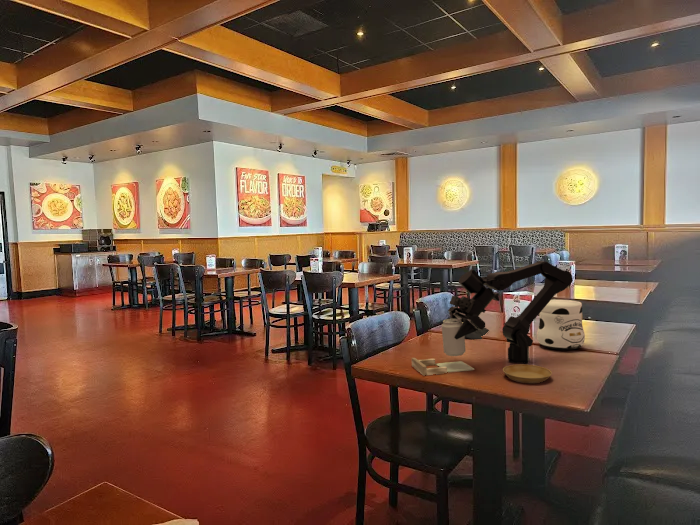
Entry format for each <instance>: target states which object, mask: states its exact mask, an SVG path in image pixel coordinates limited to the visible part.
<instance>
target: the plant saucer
mask: <svg viewBox="0 0 700 525" xmlns="http://www.w3.org/2000/svg"><path fill="white" fill-rule="evenodd" d="M502 371H503V372H504V374H505V375H506V376H507V377H508V378H509V379H510V380H511V381H514V382H516V383H523V384H539V383H540V382H541V383H543V381H544V382H545V381H547V380H548V379H549V378H550V377H551V376H552V374H553V372H552V371H551V370H550V369H549V368H547V367H544V366H539V365H536V364H535V365H534V364H524V363H517V364H511V365H506V366H504V367H503V368H502ZM541 383H540V384H541Z"/></svg>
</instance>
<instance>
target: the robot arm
mask: <svg viewBox="0 0 700 525" xmlns="http://www.w3.org/2000/svg"><path fill="white" fill-rule="evenodd" d="M537 275H542V277H544V278H545V279H544V283H543V287H542V288H541V289H540V290H539V292H537V294H536V295H535V297H533V299H532V300H531V301H530V302H529V303H528V304H527V306H525V308H524V310H522V311H521V313H520V314H519V315H517V316H516V317H515V316H512V315H511V316H509V318H508V319H507V320H506V322H504V323H503V325H504V326H502V329H501V330H502V335H503V336H504V338H505V339H506V342H507V343H509V346H508V347H507V360H508V363H514V364H516V363H517V364H526V365H529V362H530V359H531V358H530V347H532V346H533V342H534V340H533V339H532V338H531V337H530V336H529V335H528V334H529V333H530V328H531V324H532V323H533V322H534V320H536V318H537V317H538V316H539V313H540V312H541V311H542V310H543V309H544V307H545V306H546V305H547V304H548V303H549V302H550V300H553V298H554V297H555V296H556V295H558V294H559V293H560V292H563V291H565V290H566V289H567V288H569V287H570V286H571V285H572V283H573V275H572V273H571V272H570V271H568V270H563V269H561V268H559V267H557V266H555V265H553V264H551V263H549V262H548V261H546V260H544V261H543V260H538V261H536V262H533V263H530V264H527V265H525V266H521V267H518V268H515V269H511V270H508V271H497V272H495V271H494V272H490V273H488V274H487V275H486V276H483V277H481V276H480V275H479V274H478V273H477V270H475V269H473V268H471V269H470V270H469V271H466V272H465V273H464V274H462V275H461V276H460V277H459V279H458V284H460V285H461V286H462V287H463V289H465V291H467V292H468V293H469V294H471V295H472V294H473V296H471V298H469V297H466V296H464V295H462V296H461V297H459V296H456V295H451V299H450V301H449V305H451V307H449V309H447V311H448V312H449V316H450V318H449V319H460V320H461V322H462V323H463V324H462V326H461V327H460V329H459V330H458V332H457V333H456V335H455V337H454V338H455V339H459V338H461V337H463V336H465V335H468V334H470V333H472V332H475V331H478V329H479V330H481V331H482V330H483V329H484V328H486V321H484V320H483V319H482V318H481V317H480V315H481V314H482V313H483V314H485V313H486V311H487V310H486V308H487V307H488V305H489V304H490V303H491V302H492V301H496V302H500V295H499V294H500V293H498V292H494V290H496V291H503V290H504V291H505V290H506V289H508V288H509V287H510V288H511V286H512V285H514V283H516V282H519V281H522V280H525V279H529V278H532V277H534V276H537ZM486 286H487V287H486ZM477 328H478V329H477Z"/></svg>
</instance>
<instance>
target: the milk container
mask: <svg viewBox="0 0 700 525" xmlns="http://www.w3.org/2000/svg"><path fill="white" fill-rule="evenodd" d="M538 316H539V323H538V328H537V331H536V332H537V333H536V337H537V342H538V343H539V345H540V346H542V347H544V348H547V349H552V350H559V351H560V350H561V351H572V350H577V349H580V348H582V347H583V346H584V344H585V340H586V334H585V330H584V327H583V303H582V302H581V301H578V300H570V299H551V300H550V302H549V303H548V304H547V305H546V306H545V307H544V309H543V310H542V311H541V312H540V313H539V315H538Z"/></svg>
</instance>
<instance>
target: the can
mask: <svg viewBox="0 0 700 525" xmlns="http://www.w3.org/2000/svg"><path fill="white" fill-rule="evenodd" d="M442 322H443V323H442V324H441V333H442V335H441V336H442V345H443V346H442V348H443V353H444V354H445V355H446V356H448V357H460V356H462V355H464V354H465V353H466V338H465V336H463V337H461V338H459V339H455V338H454V337H455V335H456V333H457V332H458V330H459V329H460V327H461V326H462V324H463V322H461V320H460V319H451V318H447V319H444V320H443V321H442Z"/></svg>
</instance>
